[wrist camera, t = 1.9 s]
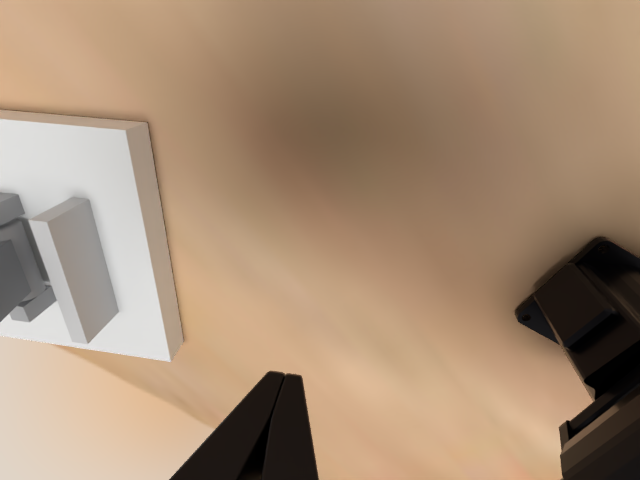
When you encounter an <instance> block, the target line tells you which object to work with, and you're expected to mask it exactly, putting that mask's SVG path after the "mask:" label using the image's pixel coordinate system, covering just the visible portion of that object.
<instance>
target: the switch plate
mask: <svg viewBox="0 0 640 480" xmlns="http://www.w3.org/2000/svg"><path fill="white" fill-rule="evenodd" d="M13 219H19V220H21V222H22V224H23V227H24V230H25V232H26V235H27V238H28V241H29V243H30V246H31V249H32V251H33V254H34V257H35V259H36V262H37V265H38V267H39V270H40V273H41V276H42V278H43V281H44V284H45V286H46V289H45V291H44V292H43V293H42V294H40V295H39V296H37V297H35V298H33V299H30V300H27V301H23V302H20V303H19V304H18V305H17V306H16V307H15V308H14V309H13V310H12V311H11V312H10V313H9V314H8V315H7V316H6V317H5V318H4V319H3V320H2V321H1V322H0V336H5V337H12V338H19V339H25V340H31V341H38V342H44V343H51V344H57V345H64V346H70V347H77V348H83V349H90V350H96V351H103V352H109V353H116V354H122V355H129V356H135V357H142V358H148V359H155V360H162V361H168V362H171V361H172V359H173V358H174V356H175V355H176V353H177V352H178V350H179V349H180V347H181V345H182V344H183V342H184V339H183V333H182V327H181V321H180V315H179V309H178V303H177V297H176V291H175V285H174V279H173V273H172V267H171V261H170V255H169V249H168V243H167V237H166V231H165V225H164V219H163V213H162V207H161V201H160V195H159V189H158V183H157V177H156V171H155V165H154V159H153V153H152V147H151V141H150V135H149V129H148V123H147V122H137V121H126V120H114V119H103V118H91V117H80V116H68V115H57V114H46V113H34V112H23V111H11V110H0V226H1V225H3V224H5V223H7V222H9V221H11V220H13Z"/></svg>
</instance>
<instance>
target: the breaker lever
mask: <svg viewBox="0 0 640 480" xmlns="http://www.w3.org/2000/svg"><path fill="white" fill-rule="evenodd" d="M45 289H46V286H45V284H44V281H43V278H42V276H41V273H40V270H39V267H38V265H37V262H36V259H35V257H34V254H33V251H32V249H31V246H30V243H29V241H28V238H27V235H26V232H25V230H24V227H23V224H22V222H21V220H19V219H13V220H11V221H9V222H7V223H5V224H3V225H1V226H0V322H1V321H2V320H3V319H4V318H5V317H6V316H7V315H8V314H9V313H10V312H11V311H12V310H13V309H14V308H15V307H16V306H17V305H18V304H19V303H20V302H23V301H27V300H30V299H33V298H35V297H37V296H39V295H40V294H42V293H43V292H44V291H45Z"/></svg>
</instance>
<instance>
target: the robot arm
mask: <svg viewBox="0 0 640 480" xmlns="http://www.w3.org/2000/svg"><path fill="white" fill-rule="evenodd" d="M602 245H605V247H604V248H602V249H600V250H598V249H599V247H600V246H602ZM525 314H528V315H527V316H524V317H523V315H525ZM515 316H516V318H517V320H518V322H520V323H521V324H523V325H525V326H527V327H528V328H530V329H532V330H534V331H536V332H537V333H539V334H541V335H543V336H545V337H547V338H548V339H550V340H552V341H554V342H556V343H557V344H559V345H560V346H561V347H562V349H563V351H564V352H565V354H566V356H567V357H568V359H569V361H570V363H571V364H572V366H573V368H574V369H575V371H576V373H577V374H578V376H579V378H580V380H581V381H582V383H583V385H584V386H585V388H586V390H587V391H588V393H589V395H590V396H591V398H592V400H593V403H592V404H590V405H589V406H588V407H587V408H585V409H584V410H583V411H582V412H581V413H579V414H578V415H577V416H576V417H574V418H573V419H572V420H571V421H568V420H567V421H566V422H564V423H563V424H562V425H561V426H560V427H559V431H560V440H561V449H562V452H561V455H560V459H561V469H562V476H563V478H562V479H561V480H640V257H638V256H636V255H635V254H633V253H631V252H630V251H628V250H626V249H625V248H623V247H621V246H620V245H618V244H616V243H615V242H613V241H611V240H610V239H608V238H605V237H599V238H596V239H595V240H593V241H592V242H591V243H590V244H589V245H587V246H586V247H585V248H584V249H583V250H582V251H581V252H580V253H579V254H578V255H576V256H575V257H574V258H573V259H572V260H571V261H570V262H569V263H568V264H567V265H565V266H564V267H563V268H562V269H561V270H560V271H559V272H558V273H557V274H556V275H554V276H553V277H552V278H551V279H550V280H549V281H548V282H547V283H546V284H545V285H543V286H542V287H541V288H540V289H539V290H538V291H537V292H536V293H535V294H534V295H533V296H532V297H530V298H529V299H528V300H527V301H526V302H525V303H524V304H523V305H522V306H521V307H519V308H518V309H517V311H516V312H515ZM169 480H319V478H318V471H317V465H316V459H315V453H314V447H313V441H312V434H311V428H310V422H309V416H308V410H307V404H306V398H305V391H304V385H303V379H302V376H301V375H297V374H290V373H287V374H286V375H285V374H284V373H283V372H277V371H269V372H267V373H266V375H265V376H264V377H263V378H262V379H261V380H260V381H259V382H258V383H257V384H256V385H255V387H254V388H253V389H252V390H251V391H250V392H249V393H248V394H247V395H246V396H245V397H244V399H243V400H242V401H241V402H240V403H239V404H238V405H237V406H236V407H235V408H234V409H233V411H232V412H231V413H230V414H229V415H228V416H227V417H226V418H225V419H224V420H223V422H222V423H221V424H220V425H219V426H218V427H217V428H216V429H215V430H214V431H213V432H212V434H211V435H210V436H209V437H208V438H207V439H206V440H205V441H204V442H203V443H202V444H201V446H200V447H199V448H198V449H197V450H196V451H195V452H194V453H193V454H192V456H190V458H189V459H188V460H187V461H186V462H185V463H184V464H183V465H182V466H181V467H180V469H179V470H178V471H177V472H176V473H175V474H174V475H173V476H172V477H171V479H169Z"/></svg>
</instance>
